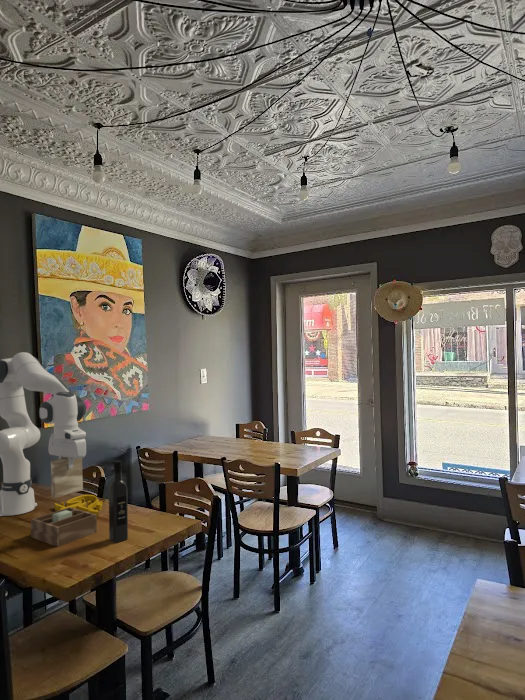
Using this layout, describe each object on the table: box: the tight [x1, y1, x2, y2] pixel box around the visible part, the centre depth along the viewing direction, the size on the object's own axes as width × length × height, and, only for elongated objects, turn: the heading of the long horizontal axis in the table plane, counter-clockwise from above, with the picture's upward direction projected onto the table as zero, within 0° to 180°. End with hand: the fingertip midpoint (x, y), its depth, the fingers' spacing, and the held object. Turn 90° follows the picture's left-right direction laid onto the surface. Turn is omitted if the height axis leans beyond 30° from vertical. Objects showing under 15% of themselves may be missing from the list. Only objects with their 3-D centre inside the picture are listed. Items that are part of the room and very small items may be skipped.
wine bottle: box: [108, 460, 129, 544], centre depth 176 cm, size 6×6×30 cm
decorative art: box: [54, 494, 104, 519], centre depth 212 cm, size 21×3×30 cm
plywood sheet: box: [50, 457, 84, 499], centre depth 181 cm, size 2×12×14 cm, turn 147°
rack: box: [30, 507, 98, 548], centre depth 182 cm, size 18×17×7 cm
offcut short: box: [52, 510, 72, 522], centre depth 181 cm, size 4×6×3 cm, turn 148°
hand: (67, 467), depth 181 cm, fingers closed on plywood sheet, 2 cm apart
